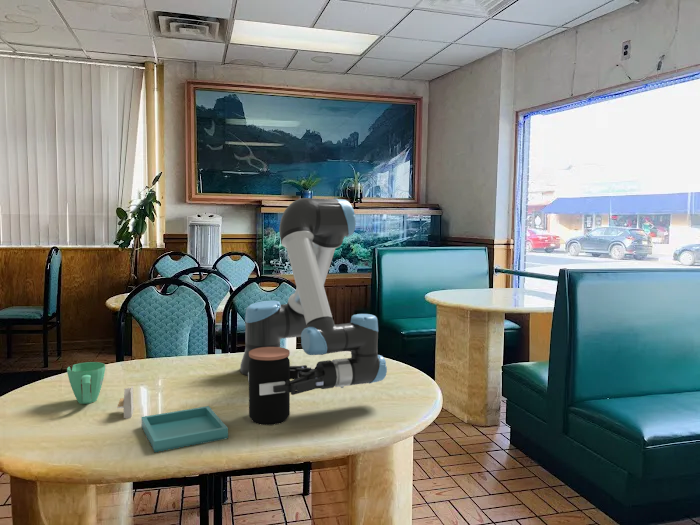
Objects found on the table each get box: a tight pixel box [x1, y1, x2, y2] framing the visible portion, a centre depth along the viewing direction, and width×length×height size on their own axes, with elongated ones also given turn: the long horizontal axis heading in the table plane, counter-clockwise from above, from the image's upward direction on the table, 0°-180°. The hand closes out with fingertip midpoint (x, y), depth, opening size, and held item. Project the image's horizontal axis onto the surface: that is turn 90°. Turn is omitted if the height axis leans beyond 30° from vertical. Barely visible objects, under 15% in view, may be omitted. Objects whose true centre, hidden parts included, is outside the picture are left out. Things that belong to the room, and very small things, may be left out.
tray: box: [140, 405, 229, 453], centre depth 138 cm, size 17×17×3 cm
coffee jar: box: [248, 346, 291, 426], centre depth 147 cm, size 11×11×18 cm
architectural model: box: [116, 385, 134, 419], centre depth 150 cm, size 3×7×7 cm, turn 16°
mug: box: [66, 361, 106, 405], centre depth 157 cm, size 15×10×10 cm
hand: (253, 383), depth 146 cm, fingers closed on coffee jar, 11 cm apart
